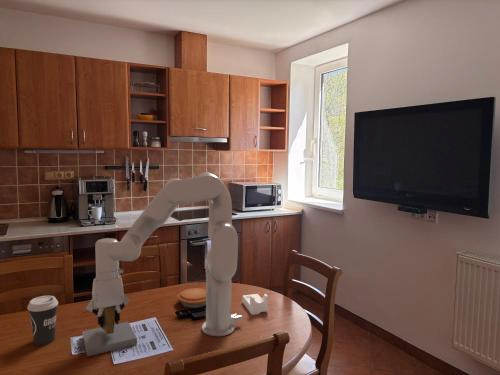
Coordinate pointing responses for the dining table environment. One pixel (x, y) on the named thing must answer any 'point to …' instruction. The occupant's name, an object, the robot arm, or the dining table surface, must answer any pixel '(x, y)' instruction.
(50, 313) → the coffee cup
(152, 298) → the dining table surface
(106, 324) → the rock
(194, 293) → the pie
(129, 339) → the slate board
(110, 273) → the robot arm
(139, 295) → the dining table surface
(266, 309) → the bracket
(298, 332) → the dining table surface
